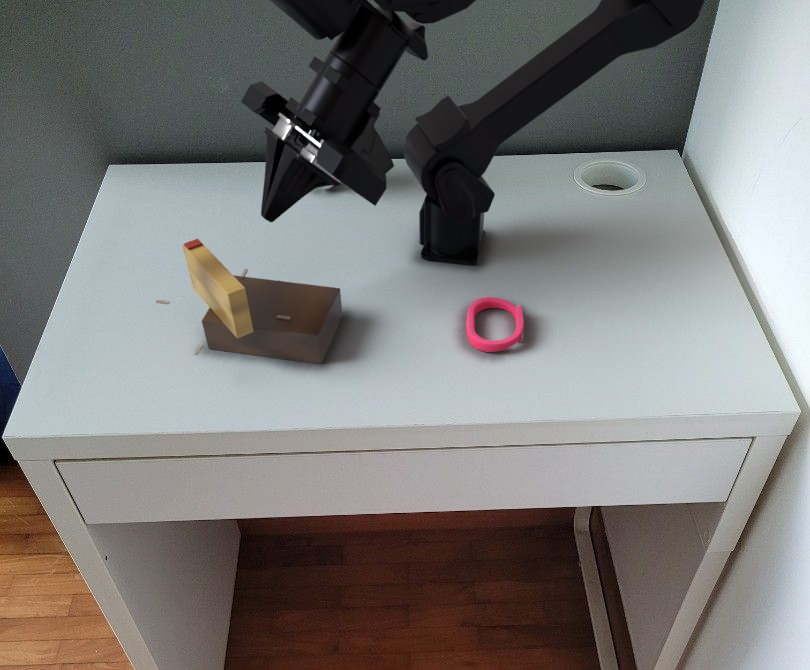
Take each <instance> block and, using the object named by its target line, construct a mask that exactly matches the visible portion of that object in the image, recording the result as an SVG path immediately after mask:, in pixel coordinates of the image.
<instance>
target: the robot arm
mask: <svg viewBox="0 0 810 670" xmlns="http://www.w3.org/2000/svg"><path fill="white" fill-rule="evenodd" d="M373 1H374V3H375V4H377V5H378V6H377V7H375V6H374V5H373V4H372V3H371V2H370V1H369V0H269V2H271V3H272V4H273V5H275V6H276V7H277V8H278V9H279V10H280V11H281V12H283V13H284V14H285V15H286V16H288V17H289V18H290V19H291V20H292V21H294V22H295V23H296V24H297V25H298V26H299V27H300V28H302V29H303V30H304V31H305V32H306V33H308V34H309V35H310V36H311V37H312V38H313V39H315V40H316V41H321V40H324V39H326V38H328V39H329V40H330V41H332V40H334V39H335V40H334V42H333V43H332V46H330V49H329V50H328V52H327V54H326V56H325V57H324V59H323V60H321V59H320V58H318V57H317V56H313V58H312V60H311V61H310V63H309V64H308V67H309V68H310V69H311V70H312V71H314V72H315V74H314V76H313V78H312V80H311V81H310V83H308V86H307V87H306V89H305V91H304V93H303V95H302V96H301V98H300V100H299V101H297V100H296V99H294V98H293V97H291V96H290V97H289V99H286V98H285V97H283V96H282V95H281V94H280V93H279V92H277V91H275V90H274V89H273V88H272V87H270V86H269V85H268V84H266V83H265V82H264V81H258V82H254V83H251V84H249V86H248V88H247V90H246V91H245V93H244V95H243V97H242V99H241V100H240V102H241V103H242V104H243V105H244V106H246V107H247V108H248V109H249V110H250V111H252V112H253V113H254V114H256V115H258V116H259V117H261V118H263V119H264V120H265V121H266V122H268V123H269V124H271V125H272V126H274V127H273V129H272V130H271V129H269V128H268V127H265V128H264V130H263V133H264V134H265V135H266V144H265V145H266V146H265V167H264V168H265V170H264V179H263V189H262V198H261V199H262V200H261V209H260V216H261V217H262V218H263V219H264V220H266V221H267V222H269V223H274V222H275V221H276V220H277V219H279V218H280V217H281V216H282V215H283V214H285V213H286V212H287V211H288V210H289V209H291V208H292V207H293V206H294V205H296V203H298V202H299V201H300V200H302V199H303V198H304V197H305V196H307V195H308V194H310V193H311V192H313V191H314V190H315V189H318V188H322V187H324V186H330V185H333V187H335V188H339V187H341V186H342V184H344V185H345V186H346V187H348V188H349V189H350V190H352V191H353V192H355V193H356V194H358V195H359V196H360V197H362V198H363V199H365V200H366V201H367V202H368V203H370V204H372V205H373V206H374V207H376V206H377V204H378V203H379V202H380V200H381V198H382V197H383V195H384V194H385V192H386V190H387V175H386V174H387V173H388V172H390V171H391V170H392V169H393V168H394V167H395V164H394V162H393V159H392V157H391V155H390V153H389V152H388V149H387V147H386V145H385V143H384V141H383V139H382V138H381V136H380V134H379V133H378V131H377V130H376V128H375V124H376V122H377V121H378V119H379V117H380V115H381V113H380V111H381V109H382V108H381V107H380V106H379V105H378V104H377V103H375V101H376V99H377V98H378V96H379V94H380V92H381V91H382V90H383V88H384V86H385V84H386V83H387V81H388V79H389V78H390V77H391V75H392V73H393V71H394V70H395V68H396V67H397V65H398V64H399V62H400V61H401V58H402V57H403V56H404V53H405V52H406V53H407V54H409V55H411V56H413V57H415V58H417V59H419V60H421V61H426V60H428V58H429V52H428V47H427V45H428V44H427V42H426V26H425V25H427V24H434V23H438V22H440V21H442V20H444V19H447V18H449V17H451V16H453V15H456V14H458V13H461V12H463V11H465V10H467V9H468V8H470V7H471V6H472V5H473V4H474V3H476V2H477V1H478V0H373ZM598 3H599V4H598V5H597V7H596V8H595V10H593V11H592V12H591V13H590V14H589V15H587V16H586V17H585V18H583V19H582V20H580V22H578V23H577V24H576V25H574V26H573V27H572V28H570V29H569V30H567V31H566V32H565V33H564V34H562V35H561V36H560V37H558V38H557V39H555V40H554V41H553V42H551V44H549V45H548V46H547V47H545V48H544V49H542V51H540V52H538V53H537V54H536V55H535V56H533V57H532V58H531V59H530V60H528V61H527V62H525V63H524V64H523V65H522V66H520V67H519V68H518V69H516V70H515V71H514V72H512V73H511V74H510V75H508V76H507V77H506V78H504V79H503V80H502V81H500V82H499V83H498V84H496V85H495V86H494V87H493V88H492V89H490V90H489V91H487V92H486V93H485V94H483V95H482V96H481V97H480V98H478V99H476V100H475V101H473V102H471V103H466V104H465V103H464V104H461V105H457V104H456V103H455V101H454V100H453V98H452V97H451V96H450V95H447V96H445V97H443V98H441V100H439V101H438V103H436V105H434V107H432V109H431V110H429V111H427V112H426V113H424V114H421V115H419V116H416V117H415V118H414V119H415V122H416V124H415V125H413V127H412V128H411V129H410V130H409V131H408V133H407V134H406V136H405V141H404V142H405V143H404V146H403V157H404V159H405V163H406V165H407V167H408V168H409V170H410V171H411V173H412V174H413V176H414V178H415V179H416V181H417V182H418V184H419V185H420V187H421V189H422V190H423V191H424V193H426V195H425V197H424V200H423V202H422V205H421V207H420V209H419V213H418V215H419V219H418V222H419V224H418V226H419V228H418V229H419V231H418V233H419V234H418V235H419V236H418V237H419V245H420V246H422V249H421V251H420V259H422V260H428V261H435V262H442V263H443V262H445V263H453V264H461V265H462V264H463V265H471V266H474V265H477V264H478V262H479V260H480V256H481V253H482V249H483V247H484V242H485V239H486V236H487V232H486V231H485V230H484V224H485V213H488V212H489V211H490V208H491V206H492V203H493V201H494V198H495V192H494V190H493V189H492V188H491V185H489V184H488V182H487V180H486V179H485V178H484V177H483V175H484V174H485V173H486V171H487V169H488V168H489V166H490V164H491V162H492V160H493V158H494V157H495V156H496V154H497V151H498V149H499V148H500V147H501V145H503V143H505V142H506V141H507V140H509V139H510V138H511V137H513V136H514V135H516V134H517V133H518V132H520V131H521V130H522V129H525V127H527V126H528V125H529V124H531V122H533V121H535V120H536V119H537V118H539V117H540V116H541V115H542V114H544V113H545V112H546V111H548V110H549V109H551V108H553V106H554V105H556V104H557V103H559V102H560V101H562V100H563V99H564V98H566V97H567V96H568V95H569V94H571V93H572V92H573V91H575V90H576V89H578V88H579V87H580V86H582V85H583V84H584V83H586V82H587V81H589V80H590V79H591V78H593V77H594V76H595V75H597V74H598V73H599V72H601V71H603V69H605V68H606V67H608V65H611V63H613V62H614V61H616V60H617V59H618V58H620V57H622V56H625V55H628V54H632V53H636V52H640V51H644V50H650V49H652V48H653V49H654V48H657V47H658V46H661V45H662V44H664V43H666V42H668V41H670V40H672V39H673V38H675V37H678V36H679V35H681V34H683V33H685V32H686V31H688V29H690V28H691V27H692V26H693V25H694V24H695V23H696V22H697V21H698V19H699V18H700V16H701V11H702V8H703V6H704V4H705V0H600V2H598ZM398 12H399V13H405V14H406V15H407V16H408V17H409V18H411V19H412V21H413V20H414V21H413V22H410V23H407V22H406V20H405V19H404V18H403V17H401V16H400V14H398ZM310 130H311V133H310V134H308V133H309V132H310ZM321 140H324V141H323V143H322V144H321V143H320V142H321ZM314 143H315V144H314Z"/></svg>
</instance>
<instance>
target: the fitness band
mask: <svg viewBox="0 0 810 670" xmlns="http://www.w3.org/2000/svg"><path fill="white" fill-rule="evenodd" d="M492 308H493V309H501V310H505V311H507V312H508V313H510V314H511V315H512V317H513V318H514V321H515V329H514V332H513V333H512V334H511V335H510V336H509V337H507V338H504V339H500V340H490V339H486V338H483V337H482V336H481V335H479V334H478V333H477V332H476V329H475V327H476V323H475V322H476V316H477V314H479V313H480V312H481V311H483V310H486V309H492ZM523 309H524V308H523V306H522V305H521V304H520V305H519V304H517V305H515V304H514V303H512V302H511V301H509V300H506V299H503V298H500V297H495V296H483V297H479V298H477V299H475V300H474V301H472V302H471V303H470V305H469V306H468V308H467V313H466V335H467V340H468V342H469V344H470V345H471V346H472V347H473V348H474V349H476V350H478V351H480V352H487V353H495V352H500V351H504V350H507V349H509V348H511V347H513V346H514V345H516V344H517V343H523V342H524V329H525V318H524V310H523Z"/></svg>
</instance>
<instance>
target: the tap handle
mask: <svg viewBox="0 0 810 670" xmlns="http://www.w3.org/2000/svg"><path fill="white" fill-rule="evenodd" d="M182 249H183V254H184V259H185V262H186V265H187V269H188V270H187V271H188V274H189V278H190V282H191V285H192V290H194V292H196V294H197V295H198V296H199V297H200V299H202V300H203V302H205V304H206V305H207V306H208V307H209V308H211V309H212V311H213V312H214V313H215V314H216V315H217V316H218V317H219V318H220V320H221V321H222V322H223V323H224V324H225V325H226V326H227V327H228V329H229V330H230V331H231V332H232V333H233V334H234V335H235V336H236V338H240V337H242V336H245V335H247V334H250V333H252V332H254V331H253V326H252V321H251V316H250V310H249V305H248V300H247V295H246V290H245V287H244V286H243V285H242V284H241V283H240V282H239V281H238V280H237V279H236V278H235V277H234V276H233V275H234V274H232V273H231V272H230V271H229V269H228V268H227V267H226V266H225V265H224V264H223V263H222V262H221V261H220V260H219V259H218V258H217V256H215V255H214V254H213V253H212V252H211V250H209V248H208V247H206V245H205V244H204V243H203V242H202V241H201V240H200V239H199V238H195V239H192V240H190V241H187V242H184V243H183V245H182Z"/></svg>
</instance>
